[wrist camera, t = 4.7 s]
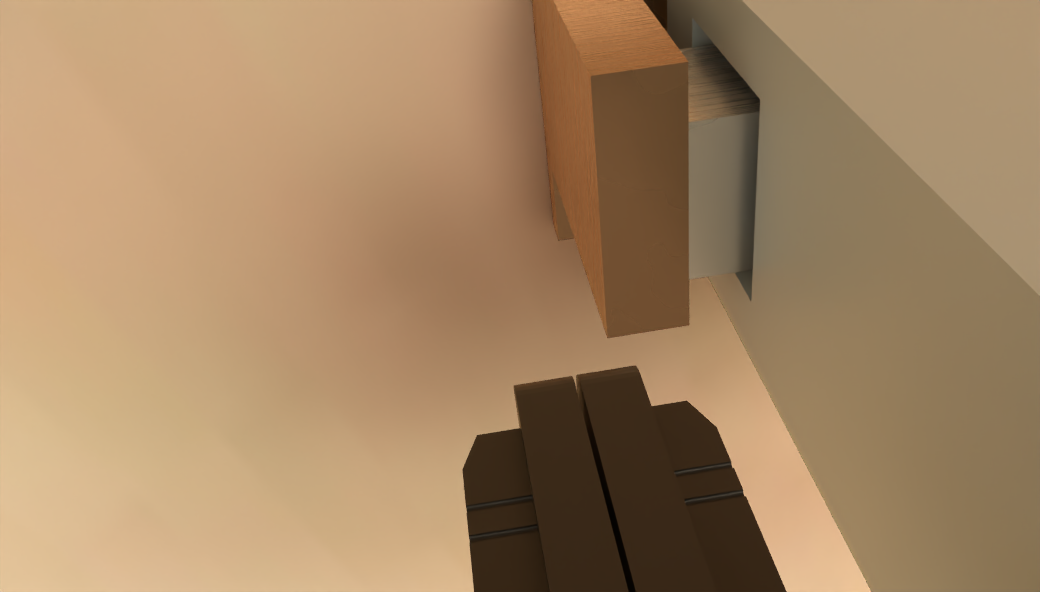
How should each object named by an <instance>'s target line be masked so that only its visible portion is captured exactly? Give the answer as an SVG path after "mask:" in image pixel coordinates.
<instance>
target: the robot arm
mask: <svg viewBox="0 0 1040 592" xmlns="http://www.w3.org/2000/svg"><path fill="white" fill-rule="evenodd" d="M576 384H577V390H576V386H575V382H574V379H573V377H572V376H569V377H563V378H557V379H551V380H545V381H539V382H532V383H526V384H520V385H514V393H515V400H516V406H517V413H518V420H519V426H520V428H519V429H513V430H506V431H500V432H494V433H488V434H482V435H477V437H476V439H475V441H474V444H473V446H472V448H471V451H470V453H469V455H468V458H467V460H466V463H465V465H464V467H463V479H464V490H465V500H466V508H467V521H468V532H469V539H470V553H471V563H472V574H473V584H474V592H786V590H785V587H784V585H783V583H782V580H781V578H780V576H779V573H778V571H777V568H776V566H775V564H774V561H773V559H772V557H771V554H770V552H769V550H768V547H767V545H766V543H765V540H764V538H763V535H762V533H761V531H760V528H759V526H758V524H757V521H756V519H755V517H754V514H753V512H752V510H751V507H750V505H749V503H748V500H747V498H746V497H744V494H743V488H742V486H741V484H740V481H739V479H738V477H737V474H736V472H735V470H734V468H732V465H731V460H730V458H729V455H728V453H727V451H726V448H725V446H724V444H723V441H722V439H721V437H720V434H719V432H718V429H717V427H716V426H715V425H713V424H712V423H711V422H710V421H709V420H708V419H707V418H706V417H705V416H703V415H702V414H701V413H700V412H699V411H698V410H697V409H696V408H694V407H693V406H692V405H691V404H690V403H689V402H688V401H682V402H676V403H670V404H664V405H657V406H651V404H650V401H649V398H648V395H647V392H646V389H645V386H644V384H643V381H642V378H641V375H640V373H639V370H638V368H637V367H636V366H629V367H623V368H617V369H611V370H605V371H599V372H592V373H586V374H580V375H577V376H576Z"/></svg>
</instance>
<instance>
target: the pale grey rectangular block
mask: <svg viewBox="0 0 1040 592" xmlns="http://www.w3.org/2000/svg"><path fill="white" fill-rule="evenodd" d="M667 33H668V35H669V36H670V37H671V39H672V40H673V41H674V43H675V44H676V45H677V47H678V48H679V49H684V48H691V47H698V46H705V45H711V44H715V46H716V47H717V48H718V49H719V50H720V52H721V53H722V54H723V55H724V56H725V58H726V59H727V60H728V61H729V62H730V64H731V65H732V66H733V67H734V68H735V70H736V71H737V72H738V73H739V74H740V76H741V77H742V78H743V79H744V80H745V82H746V83H747V84H748V85H749V86H750V88H751V89H752V90H753V91H754V92H755V94H756V95H757V96H758V97H759V99H760V116H759V139H758V162H757V185H756V208H755V230H754V253H753V270H747V271H741V272H734V273H728V274H722V275H715V276H709V277H708V278H709V280H710V282H711V283H712V285H713V287H714V289H715V291H716V293H717V295H718V297H719V299H720V301H721V303H722V305H723V307H724V309H725V310H726V312H727V314H728V316H729V318H730V320H731V322H732V324H733V326H734V328H735V330H736V332H737V334H738V335H739V337H740V339H741V341H742V343H743V345H744V347H745V349H746V351H747V353H748V355H749V357H750V359H751V361H752V362H753V364H754V366H755V368H756V370H757V372H758V374H759V376H760V378H761V380H762V382H763V384H764V386H765V387H766V389H767V391H768V393H769V395H770V397H771V399H772V401H773V403H774V405H775V407H776V409H777V411H778V413H779V414H780V416H781V418H782V420H783V422H784V424H785V426H786V428H787V430H788V432H789V434H790V436H791V438H792V439H793V441H794V443H795V445H796V447H797V449H798V451H799V453H800V455H801V457H802V459H803V461H804V463H805V465H806V466H807V468H808V470H809V472H810V474H811V476H812V478H813V480H814V482H815V484H816V486H817V488H818V490H819V491H820V493H821V495H822V497H823V499H824V501H825V503H826V505H827V507H828V509H829V511H830V513H831V515H832V517H833V518H834V520H835V522H836V524H837V526H838V528H839V530H840V532H841V534H842V536H843V538H844V540H845V542H846V543H847V545H848V547H849V549H850V551H851V553H852V555H853V557H854V559H855V561H856V563H857V565H858V567H859V568H860V570H861V572H862V574H863V576H864V578H865V580H866V582H867V584H868V586H869V588H870V590H871V592H1040V0H667Z"/></svg>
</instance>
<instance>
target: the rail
mask: <svg viewBox="0 0 1040 592" xmlns="http://www.w3.org/2000/svg"><path fill="white" fill-rule="evenodd" d="M532 7H533V18H534V28H535V38H536V48H537V59H538V69H539V79H540V90H541V100H542V110H543V120H544V131H545V141H546V151H547V161H548V172H549V182H550V192H551V202H552V213H553V223H554V227H555V231H556V234H557V237H558V240H565V239H571V238H575V241H576V244H577V247H578V250H579V253H580V256H581V259H582V262H583V265H584V269H585V272H586V275H587V278H588V281H589V284H590V287H591V290H592V293H593V296H594V299H595V302H596V305H597V308H598V311H599V314H600V317H601V320H602V323H603V326H604V329H605V332H606V335H607V338H612V337H618V336H624V335H630V334H637V333H643V332H649V331H655V330H662V329H668V328H674V327H680V326H687V325H689V280H690V279H696V278H703V277H709V276H715V275H722V274H728V273H734V272H741V271H747V270H753V253H754V230H755V208H756V185H757V162H758V139H759V116H760V99H759V97H758V96H757V95H756V94H755V92H754V91H753V90H752V89H751V88H750V86H749V85H748V84H747V83H746V82H745V80H744V79H743V78H742V77H741V76H740V74H739V73H738V72H737V71H736V70H735V68H734V67H733V66H732V65H731V64H730V62H729V61H728V60H727V59H726V58H725V56H724V55H723V54H722V53H721V52H720V50H719V49H718V48H717V47H716V46H715V44H711V45H705V46H698V47H691V48H684V49H679V48H678V47H677V45H676V44H675V43H674V41H673V40H672V39H671V37H670V36H669V35H668V33H667V0H532Z"/></svg>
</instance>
